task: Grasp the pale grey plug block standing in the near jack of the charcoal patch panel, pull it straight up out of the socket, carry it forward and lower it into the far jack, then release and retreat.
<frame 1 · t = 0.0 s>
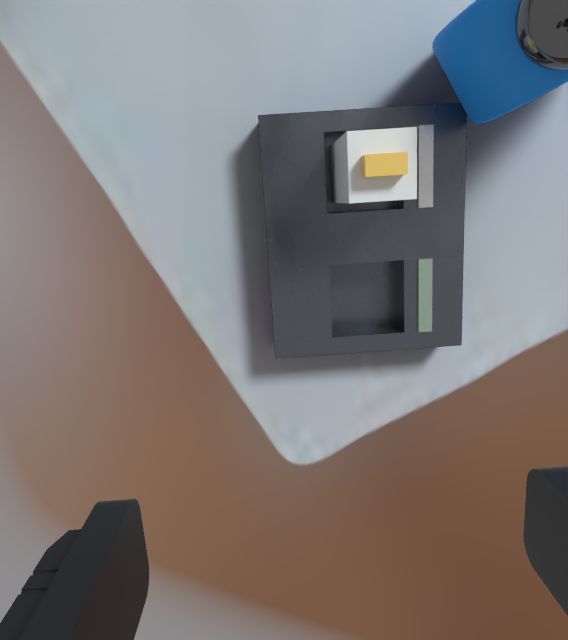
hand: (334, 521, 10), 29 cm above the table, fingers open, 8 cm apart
alarm clock: (503, 50, 35), on the table, touching panel
panel: (358, 234, 38), on the table
plug: (357, 173, 36), resting on panel
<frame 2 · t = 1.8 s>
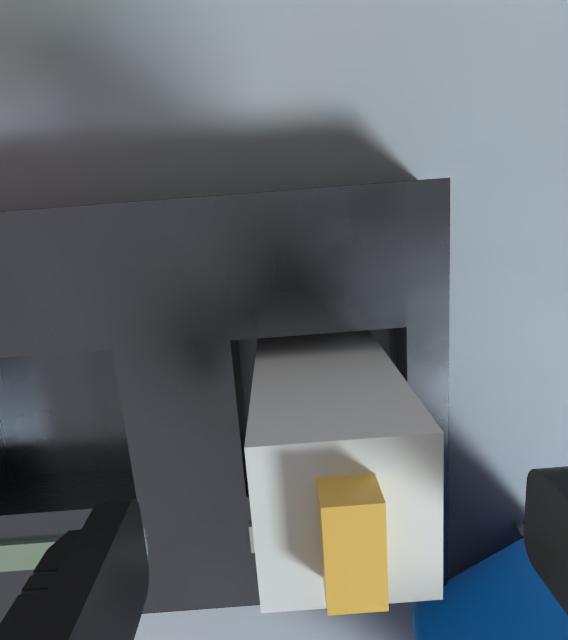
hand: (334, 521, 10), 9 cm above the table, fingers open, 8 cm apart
alarm clock: (508, 600, 21), on the table, touching panel
panel: (196, 390, 19), on the table
plug: (316, 386, 18), resting on panel
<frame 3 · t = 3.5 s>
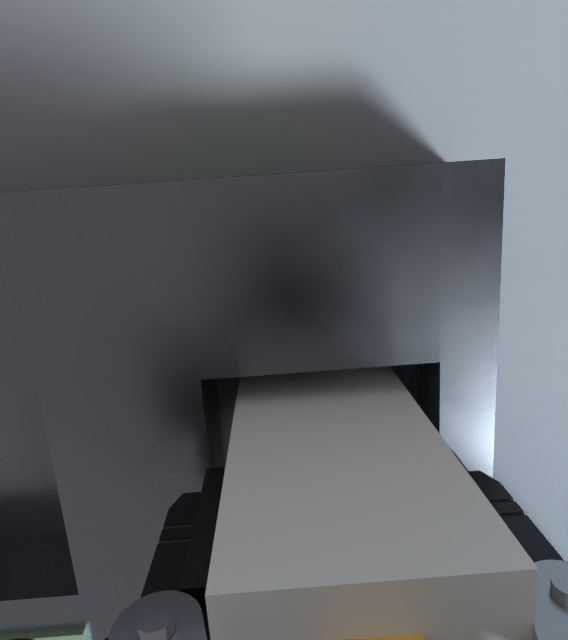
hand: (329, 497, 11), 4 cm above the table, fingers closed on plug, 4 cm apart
panel: (162, 434, 15), on the table
plug: (316, 430, 14), resting on panel, touching gripper
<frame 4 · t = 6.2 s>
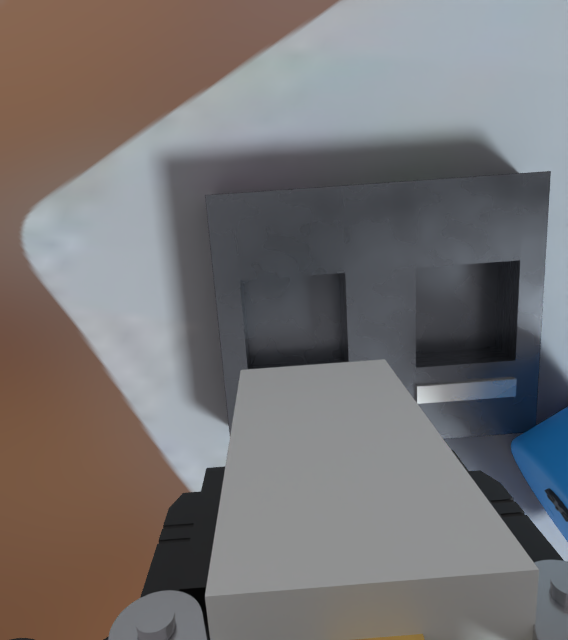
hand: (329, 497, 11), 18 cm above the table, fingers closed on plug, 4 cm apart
alarm clock: (563, 457, 32), on the table, touching panel
panel: (370, 309, 29), on the table
plug: (316, 430, 14), point 15 cm above the table, touching gripper
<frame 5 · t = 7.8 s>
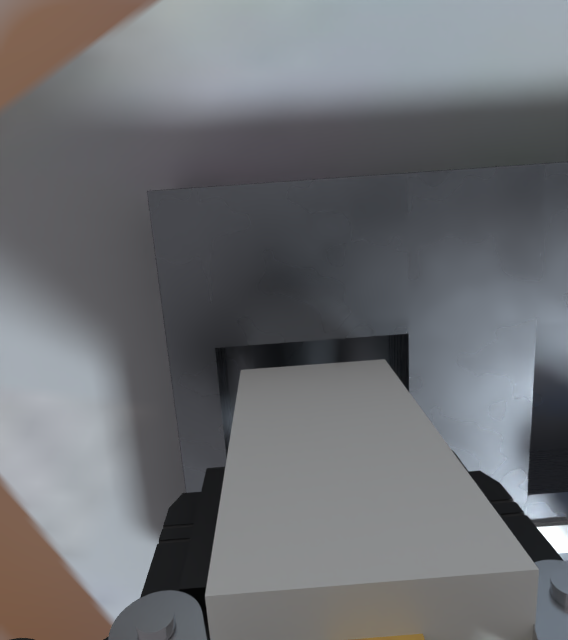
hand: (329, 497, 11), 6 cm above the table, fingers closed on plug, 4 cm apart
panel: (436, 381, 17), on the table
plug: (316, 430, 14), point 3 cm above the table, touching gripper
when the fingers open (4 cm above the table, at t = 9.2 s): plug stays where it is, resting on panel.
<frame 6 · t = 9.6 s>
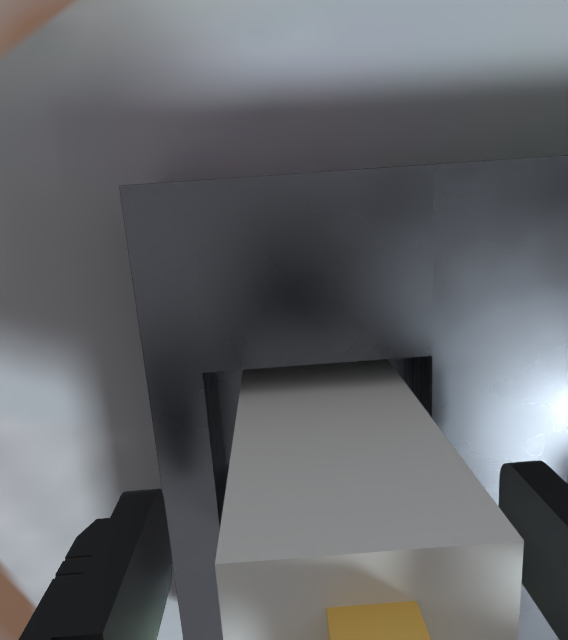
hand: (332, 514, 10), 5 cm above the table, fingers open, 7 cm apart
panel: (458, 405, 15), on the table
plug: (317, 422, 15), resting on panel
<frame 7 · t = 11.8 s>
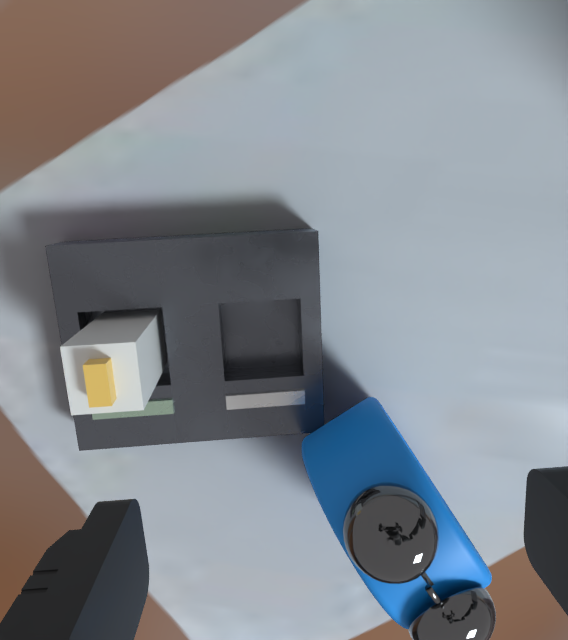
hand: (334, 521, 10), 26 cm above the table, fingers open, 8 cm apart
alarm clock: (365, 451, 39), on the table, touching panel
panel: (198, 333, 36), on the table
plug: (135, 338, 35), resting on panel
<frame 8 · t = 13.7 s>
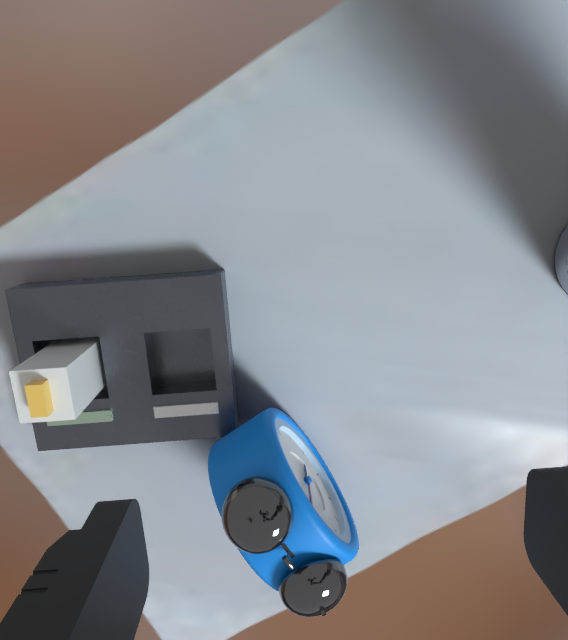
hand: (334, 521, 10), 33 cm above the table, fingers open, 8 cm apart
alarm clock: (281, 452, 46), on the table, touching panel
panel: (135, 355, 43), on the table
plug: (83, 360, 43), resting on panel
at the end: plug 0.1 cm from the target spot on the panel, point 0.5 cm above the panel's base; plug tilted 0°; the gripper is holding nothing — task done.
